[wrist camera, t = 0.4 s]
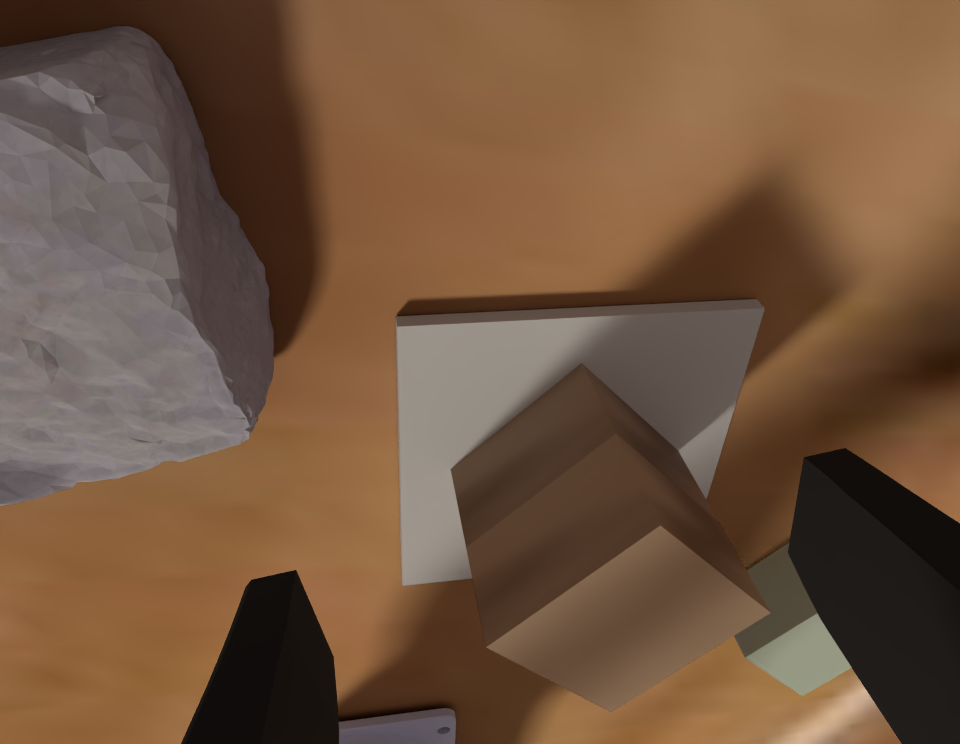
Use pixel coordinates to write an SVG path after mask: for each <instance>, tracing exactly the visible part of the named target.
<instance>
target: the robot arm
mask: <svg viewBox="0 0 960 744" xmlns="http://www.w3.org/2000/svg"><path fill="white" fill-rule="evenodd" d="M788 554H789V557H790V559H791V561H792V563H793V565H794V567H795V569H796V571H797V573H798V575H799V578H800V580H801V582H802V584H803V586H804V588H805V590H806V592H807V594H808V596H809V598H810V600H811V602H812V604H813V606H814V608H815V609H816V611H817V613H818V615H819V617H820V619H821V621H822V622H823V624H824V625H825V627H826V629H827V630H828V632H829V633H830V635H831V636H832V638H833V640H834V641H835V643H836V644H837V646H838V647H839V649H840V650H841V652H842V653H843V655H844V656H845V658H846V660H847V661H848V663H849V664H850V666H851V667H852V669H853V670H854V672H855V673H856V675H857V676H858V678H859V679H860V681H861V682H862V684H863V686H864V687H865V689H866V690H867V692H868V693H869V695H870V696H871V698H872V699H873V701H874V702H875V704H876V705H877V707H878V708H879V710H880V711H881V713H882V714H883V716H884V717H885V719H886V720H887V722H888V723H889V725H890V727H891V728H892V730H893V731H894V733H895V734H896V736H897V737H898V739H899V740H900V742H901V743H902V744H960V523H958V522H957V521H955V520H954V519H952V518H951V517H949V516H947V515H946V514H944V513H943V512H941V511H940V510H938V509H937V508H935V507H934V506H932V505H931V504H929V503H928V502H926V501H925V500H923V499H922V498H920V497H919V496H917V495H916V494H914V493H913V492H911V491H910V490H908V489H907V488H905V487H904V486H902V485H901V484H899V483H898V482H896V481H895V480H893V479H892V478H890V477H889V476H887V475H886V474H884V473H883V472H881V471H880V470H878V469H877V468H875V467H873V466H872V465H870V464H869V463H867V462H866V461H864V460H863V459H861V458H860V457H858V456H857V455H855V454H854V453H852V452H850V451H849V450H847V449H846V448H844V449H839V450H835V451H830V452H826V453H821V454H817V455H812V456H808V457H804V460H803V466H802V472H801V478H800V484H799V489H798V495H797V501H796V507H795V513H794V519H793V525H792V530H791V536H790V542H789V548H788ZM455 735H456V716H455V712H454V711H453V710H452V709H449V708H440V709H432V710H425V711H417V712H410V713H402V714H395V715H387V716H380V717H372V718H365V719H357V720H350V721H342V722H339V720H338V706H337V692H336V680H335V668H334V657H333V654H332V652H331V650H330V647H329V645H328V643H327V641H326V638H325V636H324V634H323V631H322V629H321V627H320V624H319V622H318V620H317V617H316V615H315V613H314V610H313V608H312V606H311V603H310V601H309V599H308V596H307V594H306V592H305V590H304V587H303V585H302V583H301V580H300V578H299V576H298V573H297V571H296V570H294V571H289V572H285V573H280V574H276V575H271V576H267V577H262V578H258V579H253V580H251V581H250V582H249V584H248V585H247V586H246V588H245V590H244V593H243V596H242V599H241V602H240V604H239V607H238V610H237V612H236V615H235V618H234V620H233V623H232V626H231V628H230V631H229V633H228V636H227V638H226V641H225V643H224V646H223V648H222V651H221V653H220V656H219V658H218V661H217V663H216V665H215V668H214V670H213V673H212V675H211V678H210V680H209V682H208V685H207V687H206V689H205V692H204V694H203V696H202V698H201V700H200V703H199V705H198V707H197V709H196V712H195V714H194V716H193V718H192V721H191V723H190V725H189V727H188V729H187V732H186V734H185V736H184V738H183V741H182V743H181V744H455Z"/></svg>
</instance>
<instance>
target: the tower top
mask: <svg viewBox="0 0 960 744" xmlns="http://www.w3.org/2000/svg"><path fill="white" fill-rule="evenodd" d="M466 550H467V555H468V560H469V565H470V570H471V575H472V580H473V585H474V590H475V595H476V600H477V605H478V610H479V615H480V620H481V625H482V630H483V635H484V640H485V645H486V648H488V649H490V650H492V651H494V652H496V653H498V654H500V655H502V656H503V657H505V658H507V659H509V660H511V661H513V662H515V663H517V664H519V665H521V666H523V667H525V668H527V669H529V670H530V671H532V672H534V673H536V674H538V675H540V676H542V677H544V678H546V679H548V680H550V681H552V682H554V683H556V684H557V685H559V686H561V687H563V688H565V689H567V690H569V691H571V692H573V693H575V694H577V695H579V696H581V697H583V698H584V699H586V700H588V701H590V702H592V703H594V704H596V705H598V706H600V707H602V708H604V709H606V710H608V711H610V712H613V711H614V710H616V709H617V708H619V707H621V706H622V705H624V704H625V703H627V702H629V701H630V700H632V699H633V698H635V697H637V696H638V695H640V694H641V693H643V692H645V691H646V690H648V689H649V688H651V687H653V686H654V685H656V684H657V683H659V682H661V681H662V680H664V679H665V678H667V677H669V676H670V675H672V674H674V673H675V672H677V671H678V670H680V669H682V668H683V667H685V666H686V665H688V664H690V663H691V662H693V661H694V660H696V659H698V658H699V657H701V656H702V655H704V654H706V653H707V652H709V651H710V650H712V649H714V648H715V647H717V646H718V645H720V644H722V643H723V642H725V641H726V640H728V639H730V638H731V637H733V636H734V635H736V634H738V633H739V632H741V631H743V630H744V629H746V628H747V627H749V626H751V625H752V624H754V623H755V622H757V621H759V620H760V619H762V618H763V617H765V616H767V615H768V614H770V613H771V612H770V611H769V609H768V607H767V605H766V604H765V602H764V600H763V598H762V597H761V595H760V593H759V591H758V590H757V588H756V586H755V584H754V583H753V581H752V579H751V577H750V576H749V574H748V572H747V570H746V569H745V567H744V565H743V563H742V562H741V560H740V558H739V556H738V555H737V553H736V551H735V549H734V548H733V546H732V544H731V542H730V541H729V539H728V537H727V535H726V533H725V532H724V530H723V528H722V526H721V525H720V523H719V522H718V521H717V520H716V519H715V518H713V517H712V516H711V515H710V514H709V513H708V512H706V511H705V510H704V509H703V508H702V507H701V506H700V505H698V504H697V503H696V502H695V501H694V500H693V499H691V498H690V497H689V496H688V495H687V494H686V493H684V492H683V491H682V490H681V489H680V488H679V487H677V486H676V485H675V484H674V483H673V482H672V481H670V480H669V479H668V478H667V477H666V476H665V475H663V474H662V473H661V472H660V471H659V470H658V469H657V468H655V467H654V466H653V465H652V464H651V463H650V462H648V461H647V460H646V459H645V458H644V457H643V456H641V455H640V454H639V453H638V452H637V451H636V450H634V449H633V448H632V447H631V446H630V445H629V444H627V443H626V442H625V441H624V440H623V439H622V438H620V437H619V436H618V435H617V434H615V435H613V436H612V437H611V438H609V439H608V440H607V441H606V442H604V443H603V444H602V445H600V446H599V447H598V448H596V449H595V450H594V451H592V452H591V453H590V454H588V455H587V456H586V457H584V458H583V459H582V460H581V461H579V462H578V463H577V464H575V465H574V466H573V467H571V468H570V469H569V470H567V471H566V472H565V473H563V474H562V475H561V476H560V477H558V478H557V479H556V480H554V481H553V482H552V483H550V484H549V485H548V486H546V487H545V488H544V489H542V490H541V491H540V492H538V493H537V494H536V495H535V496H533V497H532V498H531V499H529V500H528V501H527V502H525V503H524V504H523V505H521V506H520V507H519V508H517V509H516V510H515V511H513V512H512V513H511V514H510V515H508V516H507V517H506V518H504V519H503V520H502V521H500V522H499V523H498V524H496V525H495V526H494V527H492V528H491V529H490V530H489V531H487V532H486V533H485V534H483V535H482V536H481V537H479V538H478V539H477V540H475V541H474V542H473V543H471V544H470V545H469V546H467V547H466Z"/></svg>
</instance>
